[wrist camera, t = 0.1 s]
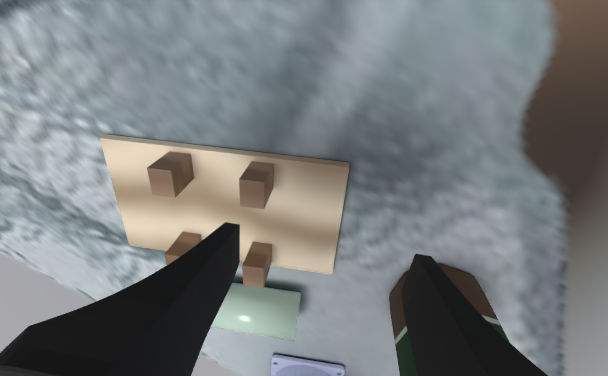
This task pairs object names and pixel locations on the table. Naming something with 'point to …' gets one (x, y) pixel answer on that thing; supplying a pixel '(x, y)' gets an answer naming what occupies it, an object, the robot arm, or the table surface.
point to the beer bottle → (402, 342)
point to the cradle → (229, 201)
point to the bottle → (259, 311)
